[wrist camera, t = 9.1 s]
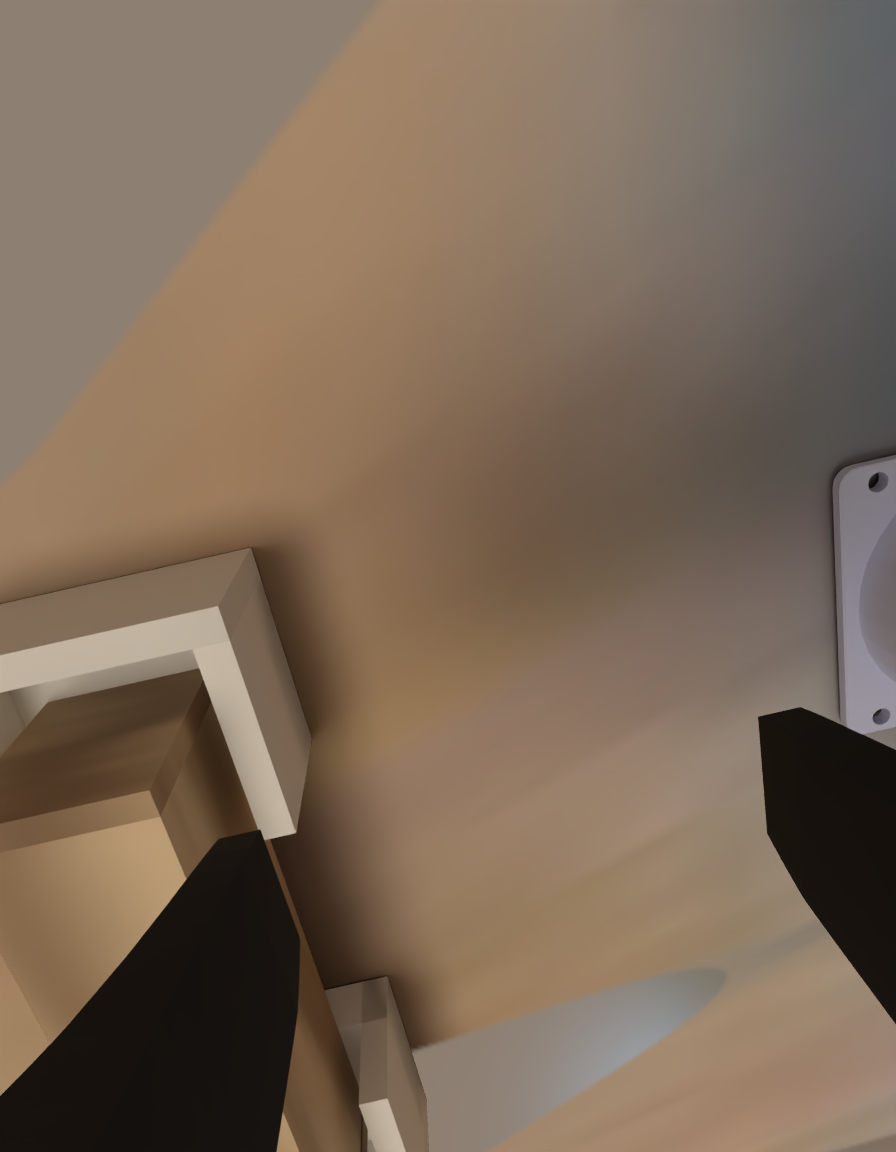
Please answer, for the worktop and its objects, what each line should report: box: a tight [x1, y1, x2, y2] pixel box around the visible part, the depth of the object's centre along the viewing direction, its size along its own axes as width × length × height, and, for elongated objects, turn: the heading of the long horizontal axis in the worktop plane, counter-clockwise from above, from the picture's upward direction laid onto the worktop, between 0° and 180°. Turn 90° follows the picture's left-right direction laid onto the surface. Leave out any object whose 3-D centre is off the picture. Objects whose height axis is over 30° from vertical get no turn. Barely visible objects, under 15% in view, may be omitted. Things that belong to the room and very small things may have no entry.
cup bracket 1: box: [0, 548, 312, 840], centre depth 18 cm, size 7×6×4 cm
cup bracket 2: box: [324, 976, 429, 1152], centre depth 23 cm, size 7×6×4 cm
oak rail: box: [0, 668, 368, 1152], centre depth 19 cm, size 4×16×5 cm, turn 12°
